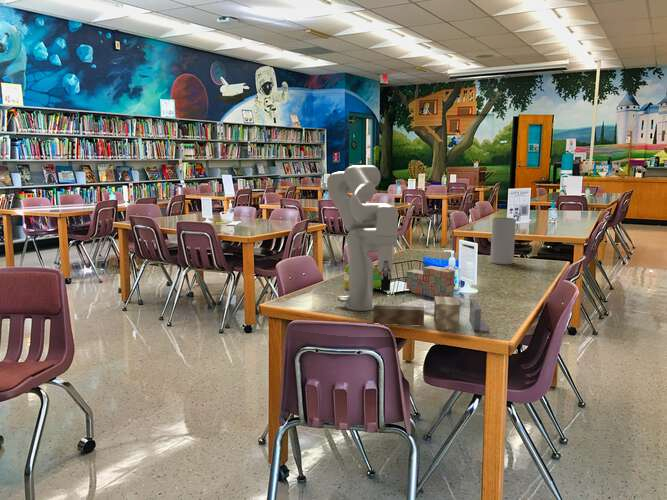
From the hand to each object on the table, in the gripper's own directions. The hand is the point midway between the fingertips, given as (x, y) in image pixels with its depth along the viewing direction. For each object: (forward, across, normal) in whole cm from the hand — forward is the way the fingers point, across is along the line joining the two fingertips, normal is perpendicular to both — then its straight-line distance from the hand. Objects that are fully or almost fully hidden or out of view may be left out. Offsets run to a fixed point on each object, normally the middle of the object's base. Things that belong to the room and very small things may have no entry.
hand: (385, 287), depth 209 cm
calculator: (+14, -22, +17) cm, 31 cm away
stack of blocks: (+13, -46, +18) cm, 51 cm away
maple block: (+13, 0, +22) cm, 25 cm away
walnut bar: (+13, 0, +5) cm, 14 cm away
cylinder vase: (+12, -128, +63) cm, 143 cm away
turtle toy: (+13, -55, -11) cm, 57 cm away
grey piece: (+13, -1, +33) cm, 36 cm away
